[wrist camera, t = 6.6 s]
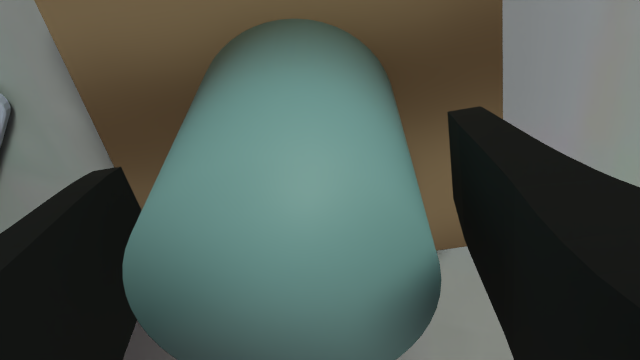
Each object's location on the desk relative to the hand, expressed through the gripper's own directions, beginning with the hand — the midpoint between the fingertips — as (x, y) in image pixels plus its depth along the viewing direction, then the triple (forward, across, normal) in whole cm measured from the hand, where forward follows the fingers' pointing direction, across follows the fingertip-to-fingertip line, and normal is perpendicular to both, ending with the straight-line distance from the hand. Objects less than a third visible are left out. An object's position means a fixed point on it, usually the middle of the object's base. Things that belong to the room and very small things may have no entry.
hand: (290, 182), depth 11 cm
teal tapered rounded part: (+3, 0, 0) cm, 3 cm away
